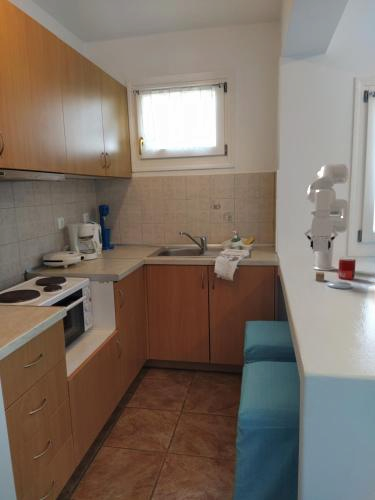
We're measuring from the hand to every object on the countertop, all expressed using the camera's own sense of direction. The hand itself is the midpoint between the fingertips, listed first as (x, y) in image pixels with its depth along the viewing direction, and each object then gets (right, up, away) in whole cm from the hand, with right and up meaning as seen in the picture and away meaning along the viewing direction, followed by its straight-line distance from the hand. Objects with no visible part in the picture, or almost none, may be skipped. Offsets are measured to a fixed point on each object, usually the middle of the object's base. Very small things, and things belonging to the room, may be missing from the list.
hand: (320, 248), depth 187 cm
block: (+1, -17, +4) cm, 17 cm away
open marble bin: (0, -2, 0) cm, 2 cm away
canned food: (+16, -16, +7) cm, 24 cm away
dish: (+6, -18, -9) cm, 21 cm away
